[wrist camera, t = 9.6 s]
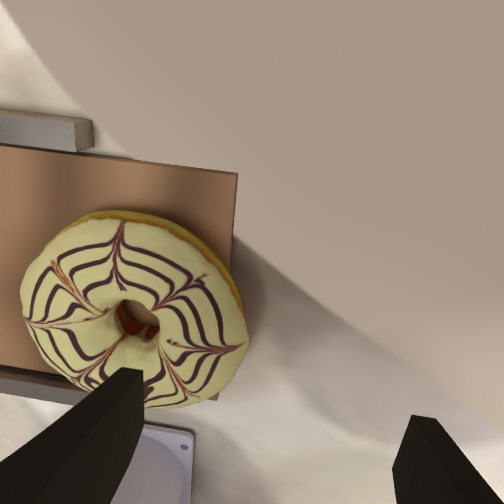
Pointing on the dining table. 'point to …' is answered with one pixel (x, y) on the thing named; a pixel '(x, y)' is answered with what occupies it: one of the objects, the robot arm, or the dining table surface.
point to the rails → (59, 138)
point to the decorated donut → (145, 291)
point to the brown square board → (89, 201)
